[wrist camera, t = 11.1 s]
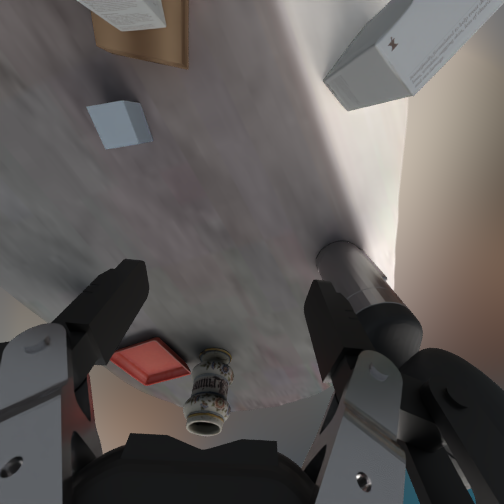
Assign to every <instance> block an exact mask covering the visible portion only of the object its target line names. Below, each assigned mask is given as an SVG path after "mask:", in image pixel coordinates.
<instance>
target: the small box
mask: <svg viewBox="0 0 504 504" xmlns="http://www.w3.org/2000/svg"><path fill="white" fill-rule="evenodd" d="M77 1H78V2H80V3H81V4H82V5H84V6H85V7H87V8H88V9H90V10H91V11H92V12H94V13H95V14H97V15H98V16H100V17H101V18H103V19H104V20H105V21H107V22H108V23H110V24H111V25H113V26H114V27H116V28H117V29H118V30H120V31H134V30H145V29H156V28H165V27H166V21H165V17H164V12H163V7H162V2H161V0H77Z"/></svg>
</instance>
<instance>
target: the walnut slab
mask: <svg viewBox="0 0 504 504" xmlns="http://www.w3.org/2000/svg"><path fill="white" fill-rule="evenodd" d="M161 2H162V7H163V12H164V17H165V21H166V27H165V28H156V29H145V30H134V31H120V30H118V29H117V28H116V27H114V26H113V25H111V24H110V23H108V22H107V21H105V20H104V19H103V18H101V17H100V16H98V15H97V14H95V13H94V12H92V11H91V16H92V22H93V28H94V34H95V40H96V46H98V47H100V48H102V49H104V50H106V51H108V52H110V53H112V54H116V55H121V56H126V57H130V58H135V59H140V60H145V61H150V62H154V63H159V64H164V65H169V66H174V67H178V68H183V69H188V14H189V0H161Z"/></svg>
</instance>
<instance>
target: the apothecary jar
mask: <svg viewBox="0 0 504 504" xmlns="http://www.w3.org/2000/svg"><path fill="white" fill-rule="evenodd" d="M199 358H200V360H201V363H199V364H198V365H196V366H195V367H194V369H193V371H192V374H191V378H192V381H193V383H194V385H193V390H192V394H191V398H189V399H188V400H187V401H186V403H185V405H184V408H183V413H184V416H185V418H186V419H187V425H186V428H187V430H188V431H189V432H191V433H193V434H196V435H200V436H212V435H216V434H218V433H220V432H221V430H222V425H223V423H224V422H225V421H226V420H227V419H228V417H229V415H230V405H229V403H228V402H227V392H228V387H229V386H230V385H231V384H232V382H233V378H234V374H233V371H232V369H231V368H230V367H229V366H228V364H229V363H230V362H231V359H232V358H231V355H230V354H229V353H228V352H227V351H225V350H223V349H219V348H209V349H206V350H205V351H204V352H201V353H200V356H199Z"/></svg>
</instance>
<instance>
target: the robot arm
mask: <svg viewBox="0 0 504 504" xmlns="http://www.w3.org/2000/svg"><path fill="white" fill-rule="evenodd" d="M316 265H317V268H318V271H319V273H320V275H321V277H322V280H313V282H312V284H311V287H310V290H309V292H308V295H307V298H306V301H305V304H304V314H305V318H306V322H307V326H308V329H309V333H310V337H311V341H312V344H313V348H314V352H315V356H316V359H317V363H318V367H319V371H320V374H321V378H322V382H323V383H333V386H334V389H335V391H334V393H333V394H332V397H331V400H330V402H329V405H328V408H327V410H326V412H325V415H324V418H323V420H322V423H321V425H320V428H319V430H318V433H317V435H316V438H315V440H314V442H313V444H312V446H311V448H310V450H309V452H308V454H307V456H306V458H305V460H304V463H303V466H302V468H300V467H299V466H298V465H297V464H296V463H294V462H293V461H292V460H291V459H289V458H288V457H286V456H284V455H283V454H281V453H279V452H277V441H264V440H246V439H241V440H238V441H234V442H231V443H227V444H224V445H220V446H217V447H213V448H210V449H206V450H201V449H198V448H196V447H194V446H191V445H189V444H187V443H184V442H182V441H180V440H177V439H175V438H173V437H170V436H168V435H155V434H136V433H130V435H129V438H128V440H127V443H126V445H124V446H120V447H118V448H115V449H113V450H111V451H109V452H107V453H105V454H102V448H101V443H100V439H99V436H98V433H97V429H96V425H95V418H94V410H93V400H92V392H91V384H90V376H89V374H88V373H89V372H90V370H91V369H92V367H93V366H94V365H107V364H108V362H109V360H110V359H111V357H112V355H113V354H114V352H115V350H116V349H117V347H118V345H119V344H120V342H121V340H122V339H123V337H124V335H125V334H126V332H127V330H128V329H129V327H130V325H131V324H132V322H133V320H134V319H135V317H136V315H137V314H138V312H139V310H140V309H141V307H142V306H143V304H144V302H145V301H146V299H147V296H148V293H149V283H148V277H147V271H146V265H145V262H144V261H141V260H131V259H124V260H123V261H122V262H121V263H120V264H119V265H118V266H117V267H116V268H115V269H109V270H108V271H106V272H104V273H102V274H100V275H99V276H98V277H97V278H96V279H95V280H94V281H93V282H92V283H91V284H90V286H88V287H87V288H86V289H85V290H84V291H83V293H81V294H80V295H79V296H78V297H77V298H76V299H75V300H74V301H73V302H72V303H71V304H70V305H69V306H68V307H67V308H66V309H65V310H64V311H63V312H62V313H61V314H60V315H59V316H58V317H57V318H56V319H55V320H54V321H53V322H51V323H47V324H42V325H38V326H35V327H32V328H30V329H28V330H26V331H24V332H22V333H21V334H19V335H17V336H16V337H15V338H14V339H13V340H11V341H10V342H4V343H0V504H403V495H404V482H405V468H406V469H407V472H408V474H409V477H410V479H411V482H412V484H413V487H414V489H415V492H416V494H417V496H418V499H419V502H420V504H474V502H473V500H472V498H471V496H470V494H469V493H468V491H467V489H470V488H472V490H473V493H474V495H475V499H476V504H504V391H503V390H502V389H501V388H500V387H499V386H498V385H497V384H496V383H495V382H493V381H492V380H491V379H490V378H489V377H488V376H486V375H485V374H484V373H483V372H481V371H480V370H479V369H477V368H476V367H474V366H473V365H472V364H470V363H469V362H467V361H466V360H464V359H463V358H461V357H459V356H457V355H455V354H453V353H450V352H448V351H445V350H442V349H438V348H427V349H423V350H421V351H419V349H420V344H421V341H422V336H423V331H422V326H421V325H420V322H419V321H418V320H417V318H416V317H415V316H414V315H413V313H412V312H411V311H410V310H409V309H408V308H407V306H406V305H405V304H404V303H403V302H402V300H401V299H400V298H399V297H398V296H397V294H396V293H395V292H394V291H393V290H392V289H391V287H390V286H389V285H388V284H387V283H386V281H387V277H386V276H385V275H384V274H383V272H382V271H381V270H380V269H379V268H378V267H377V266H376V264H375V263H374V262H373V261H372V260H371V259H370V258H369V256H368V255H367V254H366V253H365V252H364V251H363V250H360V249H358V248H357V247H356V246H355V245H354V244H352V243H350V242H346V241H338V242H334V243H332V244H329V245H328V246H326V247H325V248H324V249H322V250H321V252H320V253H319V255H318V257H317V260H316Z"/></svg>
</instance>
